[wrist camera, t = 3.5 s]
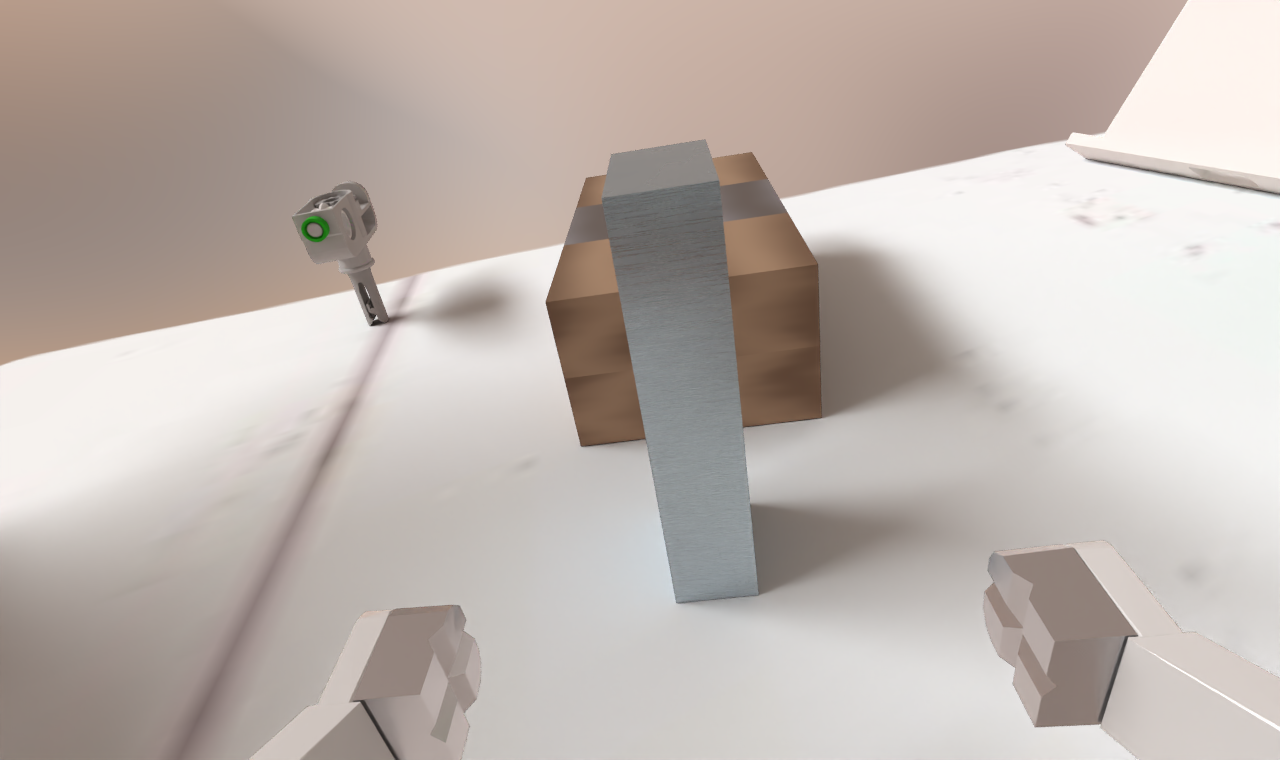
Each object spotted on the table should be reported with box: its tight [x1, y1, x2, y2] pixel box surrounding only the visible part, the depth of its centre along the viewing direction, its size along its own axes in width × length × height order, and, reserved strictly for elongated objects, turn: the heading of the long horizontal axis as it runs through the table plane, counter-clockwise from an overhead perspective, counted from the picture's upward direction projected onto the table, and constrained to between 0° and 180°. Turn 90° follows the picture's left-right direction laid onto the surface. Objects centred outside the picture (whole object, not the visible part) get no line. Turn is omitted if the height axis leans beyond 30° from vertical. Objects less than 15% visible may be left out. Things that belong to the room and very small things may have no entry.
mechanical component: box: [292, 181, 389, 326], centre depth 50 cm, size 3×10×10 cm, turn 7°
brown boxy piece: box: [546, 152, 822, 446], centre depth 41 cm, size 12×22×8 cm, turn 179°
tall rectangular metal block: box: [601, 140, 759, 603], centre depth 23 cm, size 3×5×15 cm, turn 179°
